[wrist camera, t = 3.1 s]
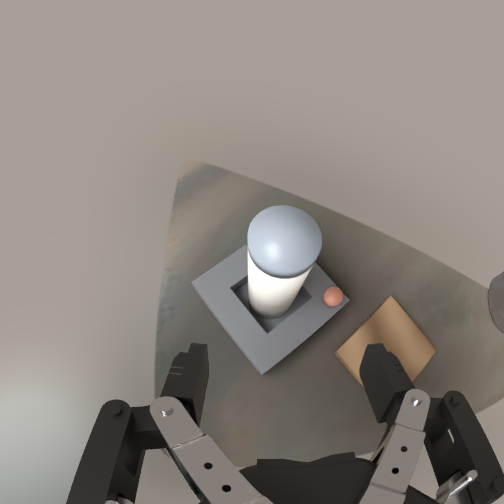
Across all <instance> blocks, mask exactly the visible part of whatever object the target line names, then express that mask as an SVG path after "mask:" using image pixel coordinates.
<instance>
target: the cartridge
mask: <svg viewBox="0 0 504 504" xmlns="http://www.w3.org/2000/svg"><path fill="white" fill-rule="evenodd" d="M321 246H322V235H321V231H320V228H319V226H318V224H317V223H316V221H315V220H314V219H313V218H312V217H311V216H310V215H309V214H307V213H306V212H305V211H303V210H301V209H299V208H296V207H292V206H286V205H278V206H273V207H269V208H267V209H265V210H263V211H261V212H260V213H259V214H258V215H256V216H255V218H254V219H253V220H252V222H251V224H250V226H249V230H248V302H249V306H250V308H251V310H252V311H253V312H254V313H255V314H256V315H257V316H259V317H261V318H263V319H267V320H273V319H277V318H280V317H282V316H283V315H284V314H285V313H286V312H287V311H288V310H289V308H290V306H291V304H292V303H293V301H294V299H295V297H296V295H297V294H298V292H299V290H300V288H301V286H302V285H303V283H304V281H305V279H306V277H307V275H308V273H309V272H310V270H311V268H312V266H313V264H314V262H315V260H316V258H317V256H318V255H319V252H320V250H321Z"/></svg>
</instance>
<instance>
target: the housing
mask: <svg viewBox="0 0 504 504" xmlns="http://www.w3.org/2000/svg"><path fill="white" fill-rule="evenodd" d="M191 283H192V285H193V287H194V288H195V290H196V292H197V293H198V294H199V296H200V297H201V299H202V300H203V301H204V303H205V304H206V305H207V307H208V308H209V309H210V311H211V312H212V313H213V315H214V316H215V317H216V319H217V320H218V321H219V323H220V324H221V325H222V327H223V328H224V329H225V331H226V332H227V333H228V334H229V336H230V337H231V338H232V340H233V341H234V342H235V343H236V345H237V346H238V347H239V349H240V350H241V351H242V352H243V354H244V355H245V356H246V357H247V358H248V360H249V361H250V362H251V363H252V365H253V366H254V367H255V368H256V370H257V371H258V372H259V373H260V374H261V375H262V374H264V373H265V372H266V371H268V370H269V369H270V368H272V367H273V366H274V365H275V364H277V363H278V362H279V361H280V360H282V359H283V358H284V357H285V356H287V355H288V354H289V353H290V352H292V351H293V350H294V349H295V348H296V347H298V346H299V345H300V344H301V343H302V342H304V341H305V340H306V339H307V338H308V337H309V336H311V335H312V334H313V333H314V332H315V331H316V330H318V329H319V328H320V327H321V326H322V325H323V324H324V323H325V322H327V321H328V320H329V319H330V318H331V317H332V316H333V315H334V314H335V313H336V312H338V311H339V310H340V309H341V308H342V307H343V306H344V305H345V304H346V303H347V302H348V301H349V299H348V298H347V297H346V296H345V294H344V293H343V292H342V291H341V290H340V289H339V288H338V287H337V286H336V284H335V283H334V282H333V281H332V280H331V279H330V278H329V277H328V276H327V274H326V273H325V272H324V271H323V270H322V269H321V268H320V267H319V266H318V265H317V264H316V262H314V264H313V266H312V268H311V270H310V272H309V273H308V275H307V277H306V279H305V281H304V283H303V285H302V286H301V288H300V290H299V292H298V294H297V295H296V297H295V299H294V301H293V303H292V304H291V306H290V308H289V310H288V311H287V312H286V313H285V314H284V315H283V316H282V317H280V318H277V319H273V320H267V319H263V318H261V317H259V316H257V315H256V314H255V313H254V312H253V311H252V310H251V308H250V306H249V302H248V244H246V245H245V246H243V247H242V248H240V249H239V250H237V251H236V252H235V253H233V254H232V255H230V256H229V257H227V258H226V259H224V260H223V261H221V262H220V263H219V264H217V265H216V266H214V267H213V268H211V269H210V270H208V271H207V272H206V273H204V274H203V275H201V276H200V277H198V278H197V279H196V280H194V281H193V282H191Z"/></svg>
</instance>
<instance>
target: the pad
mask: <svg viewBox="0 0 504 504" xmlns="http://www.w3.org/2000/svg"><path fill="white" fill-rule="evenodd" d="M376 343H382V344H383V345H384V347H385V348H386V350H387V352H392V353H393V354H394V355H395V356H396V357H398V359H399V361H400V363H401V365H402V366H403V368H404V371H406V373H407V374H408V376H409V378H410V380H411V381H412V382H413V381H414V380H415V378H416V377H417V376H418V375H419V373H420V372H421V371H422V370H423V368H424V367H425V366H426V364H427V363H428V362H429V360H430V359H431V357H432V356H433V355H434V353H435V352H436V350H435V349H434V347H433V346H432V345H431V343H430V342H429V341H428V340H427V338H426V337H425V336H424V335H423V333H422V332H421V331H420V330H419V328H418V327H417V326H416V325H415V323H414V322H413V321H412V320H411V319H410V317H409V316H408V315H407V314H406V313H405V311H404V310H403V309H402V308H401V307H400V305H399V304H398V303H397V302H396V301H395V300H394V298H393V297H392V296H389V297H388V298H387V299H386V300H385V301H384V302H383V303H382V304H381V305H380V306H379V307H378V308H377V310H376V311H375V312H374V313H373V314H372V315H371V316H370V317H369V318H368V319H367V320H366V321H365V322H364V323H363V324H362V325H361V326H360V327H359V328H358V329H357V330H356V331H355V332H354V333H353V334H352V335H351V336H350V337H349V338H348V339H347V340H346V341H345V342H344V343H343V344H342V345H341V346H340V347H339V348H337V349H336V350H335V351H334V352H333V353H334V354H335V355H336V356H337V358H338V359H339V360H340V361H341V362H342V363H343V364H344V366H345V367H346V368H347V369H348V370H349V371H350V373H351V374H352V375H353V376H354V377H355V378H356V379H357V381H358V382H359V383H360V384H361V385H362V386H363V383H362V381H361V378H360V374H359V368H360V364H361V361H362V358H363V355H364V352H365V349H366V346H367V345H368V344H376ZM363 388H364V386H363ZM364 389H365V388H364Z"/></svg>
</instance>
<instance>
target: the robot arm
mask: <svg viewBox="0 0 504 504" xmlns="http://www.w3.org/2000/svg"><path fill="white" fill-rule="evenodd" d="M488 300H489V308H490V312H491V315H492V318H493V320H494V322H495V324H496V326H497V327H498V328H499V329H500V330H501V331H502V332H504V272H502V273H501V274H499V275H498V276H496V277H495V278H494V279H493V280H492V282H491V284H490V287H489V293H488ZM359 374H360V378H361V381H362V383H363V386H364V388H365V391H366V393H367V396H368V398H369V401H370V403H371V406H372V409H373V411H374V414H375V417H376V419H377V422H378V423H383V422H386V423H387V426H386V428H385V430H384V433H383V435H382V437H381V439H380V441H379V443H378V445H377V448H376V450H375V452H374V454H373V455H372V457H371V459H370V460H366V459H362V458H355V454H354V452H349V453H342V454H335V455H330V456H327V457H324V458H321V459H318V460H315V461H312V462H299V461H292V460H286V459H257V465H254V466H250V467H246V468H244V469H241V470H240V471H238V470H237V469H236V468H235V466H234V465H233V464H232V463H231V462H230V461H229V460H228V458H227V457H226V456H225V455H224V454H223V452H222V451H221V450H220V449H219V448H218V446H217V445H216V444H215V443H214V441H213V440H212V439H211V438H210V437H209V436H208V435H207V434H205V435H204V434H203V433H202V432H201V430H200V429H199V425H200V420H201V415H202V409H203V404H204V399H205V393H206V388H207V383H208V377H209V362H208V350H207V344H198V343H191V345H190V348H189V352H188V353H184V352H180V353H179V354H178V355H177V356H176V357H175V358H174V360H173V362H172V365H171V368H170V371H169V374H168V376H167V379H166V382H165V385H164V387H163V390H162V393H161V396H160V398H157V399H156V400H154V401H153V402H152V403H151V405H148V406H143V407H130V406H129V405H128V404H127V403H126V402H124V401H122V400H111V401H108V402H106V403H105V404H104V405H103V406H102V408H101V410H100V412H99V415H98V417H97V419H96V422H95V424H94V427H93V429H92V432H91V434H90V437H89V440H88V442H87V445H86V447H85V450H84V453H83V455H82V458H81V461H80V464H79V466H78V469H77V472H76V475H75V478H74V481H73V484H72V487H71V490H70V493H69V496H68V500H67V503H66V504H134V503H135V498H136V493H137V488H138V483H139V478H140V474H141V468H142V464H143V460H144V455H145V451H146V450H147V449H160V448H165V449H166V450H167V452H168V454H169V455H170V457H171V458H172V460H173V462H174V463H175V465H176V466H177V468H178V469H179V471H180V472H181V474H182V475H183V477H184V479H185V480H186V482H187V483H188V485H189V487H190V488H191V490H192V491H193V492H194V494H195V495H196V496H197V498H198V499H199V500H200V503H199V504H491V503H493V502H494V501H496V500H497V499H498V498H500V497H501V496H502V495H503V494H504V474H503V472H502V469H501V467H500V464H499V462H498V460H497V458H496V455H495V453H494V451H493V449H492V447H491V445H490V443H489V441H488V439H487V437H486V435H485V433H484V431H483V429H482V427H481V425H480V423H479V422H478V420H477V418H476V416H475V414H474V412H473V410H472V409H471V407H470V405H469V403H468V402H467V400H466V398H465V397H464V395H463V394H461V393H460V392H457V391H449V392H447V393H446V394H445V396H444V397H443V398H430V397H429V396H428V394H427V393H426V392H424V391H422V390H420V389H416V388H415V387H414V385H413V383H412V381H411V380H410V378H409V376H408V374H407V373H406V371H404V368H403V366H402V365H401V363H400V361H399V359H398V357H396V356H395V355H394V354H393V353H392V352H387V350H386V348H385V347H384V345H383V344H382V343H376V344H368V345H367V346H366V349H365V352H364V355H363V358H362V361H361V364H360V368H359ZM448 429H450V431H451V433H452V436H453V438H454V444H453V442H452V439H451V437H450V435H449V432H448ZM423 442H424V444H425V447H426V450H427V452H428V455H429V458H430V461H431V464H432V467H433V470H434V473H435V476H436V479H437V482H438V485H439V489H438V490H437V493H436V499H435V500H434V499H432V498H430V497H429V496H427V495H425V494H423V493H422V492H420V491H418V490H417V489H415V488H413V487H412V486H410V485H409V482H410V480H411V477H412V474H413V472H414V469H415V466H416V463H417V461H418V458H419V455H420V452H421V448H422V445H423Z"/></svg>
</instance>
